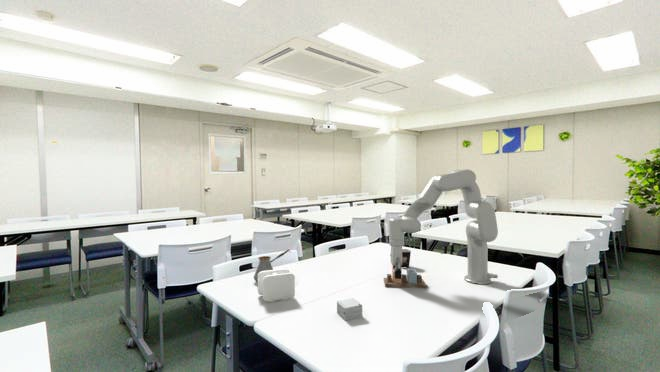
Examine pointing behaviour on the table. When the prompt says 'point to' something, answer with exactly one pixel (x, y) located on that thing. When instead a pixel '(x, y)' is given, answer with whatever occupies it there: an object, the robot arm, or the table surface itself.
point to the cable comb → (404, 282)
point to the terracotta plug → (394, 277)
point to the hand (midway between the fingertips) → (397, 275)
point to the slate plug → (411, 276)
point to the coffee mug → (405, 257)
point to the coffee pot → (265, 264)
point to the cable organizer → (276, 284)
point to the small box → (349, 309)
